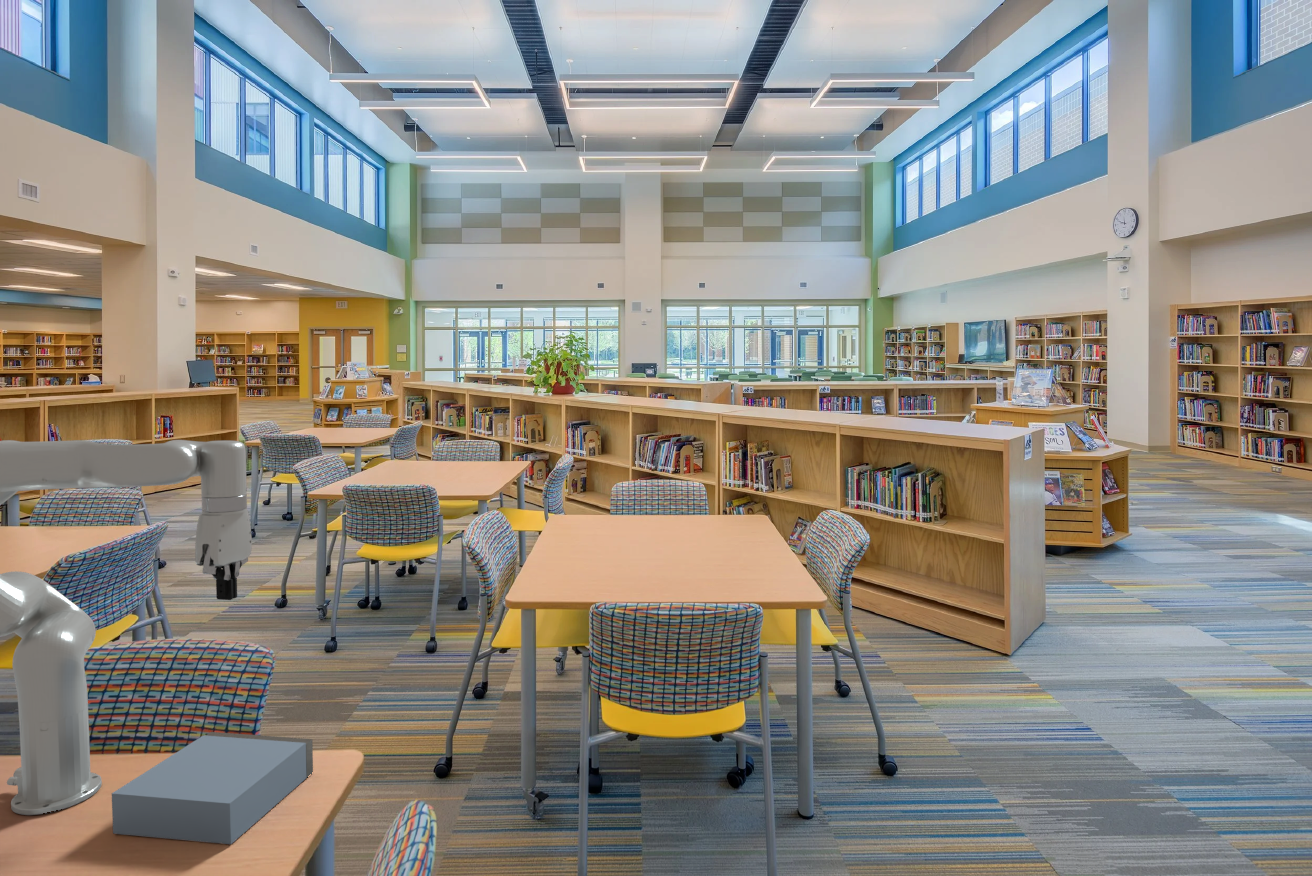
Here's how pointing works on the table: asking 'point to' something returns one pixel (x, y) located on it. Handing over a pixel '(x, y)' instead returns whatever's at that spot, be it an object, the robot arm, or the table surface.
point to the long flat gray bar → (308, 741)
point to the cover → (209, 789)
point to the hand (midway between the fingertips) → (226, 598)
